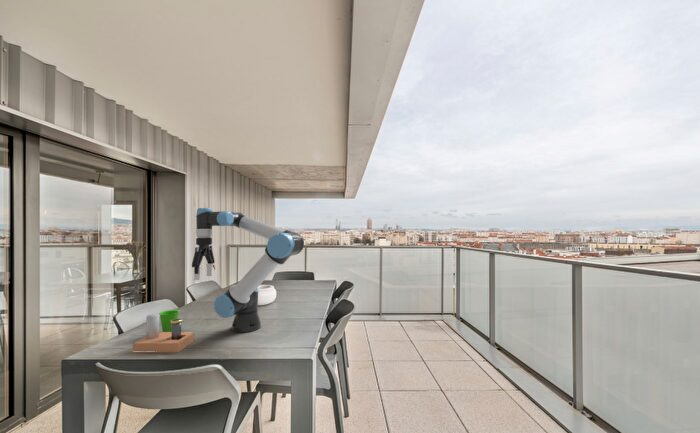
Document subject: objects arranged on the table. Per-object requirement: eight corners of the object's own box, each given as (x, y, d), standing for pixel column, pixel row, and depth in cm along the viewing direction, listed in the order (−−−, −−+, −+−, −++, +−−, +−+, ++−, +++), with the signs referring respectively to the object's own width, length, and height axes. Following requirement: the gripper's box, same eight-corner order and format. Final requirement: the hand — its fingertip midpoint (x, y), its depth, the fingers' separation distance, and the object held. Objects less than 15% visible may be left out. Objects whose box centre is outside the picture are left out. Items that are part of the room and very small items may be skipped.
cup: (169, 337, 148) (170, 315, 149) (154, 336, 150) (154, 314, 150) (183, 331, 157) (183, 310, 157) (168, 330, 159) (168, 309, 159)
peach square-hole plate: (194, 340, 144) (195, 311, 145) (178, 352, 130) (178, 320, 131) (153, 340, 144) (154, 311, 145) (132, 352, 130) (133, 320, 131)
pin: (184, 344, 140) (184, 318, 140) (178, 348, 135) (178, 321, 136) (174, 344, 140) (174, 318, 140) (167, 348, 135) (168, 321, 136)
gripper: (207, 236, 168) (207, 274, 167) (184, 238, 143) (183, 282, 143) (221, 236, 168) (220, 274, 168) (199, 238, 144) (199, 282, 143)
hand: (203, 278), depth 155 cm, fingers open, 13 cm apart
